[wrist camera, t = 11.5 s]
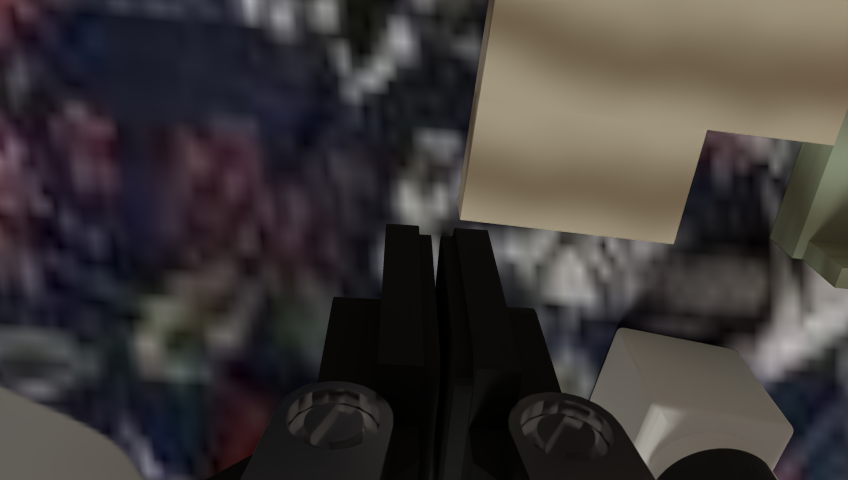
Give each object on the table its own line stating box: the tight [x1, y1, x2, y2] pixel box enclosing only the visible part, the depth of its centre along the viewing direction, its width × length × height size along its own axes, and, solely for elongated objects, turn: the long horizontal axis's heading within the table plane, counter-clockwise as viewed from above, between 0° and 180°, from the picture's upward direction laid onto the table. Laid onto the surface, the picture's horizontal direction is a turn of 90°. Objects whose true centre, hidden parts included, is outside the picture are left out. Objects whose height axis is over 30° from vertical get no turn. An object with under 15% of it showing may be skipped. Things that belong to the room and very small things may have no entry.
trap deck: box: [458, 0, 848, 289], centre depth 31 cm, size 18×23×6 cm
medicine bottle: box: [590, 328, 793, 480], centre depth 36 cm, size 7×7×12 cm
